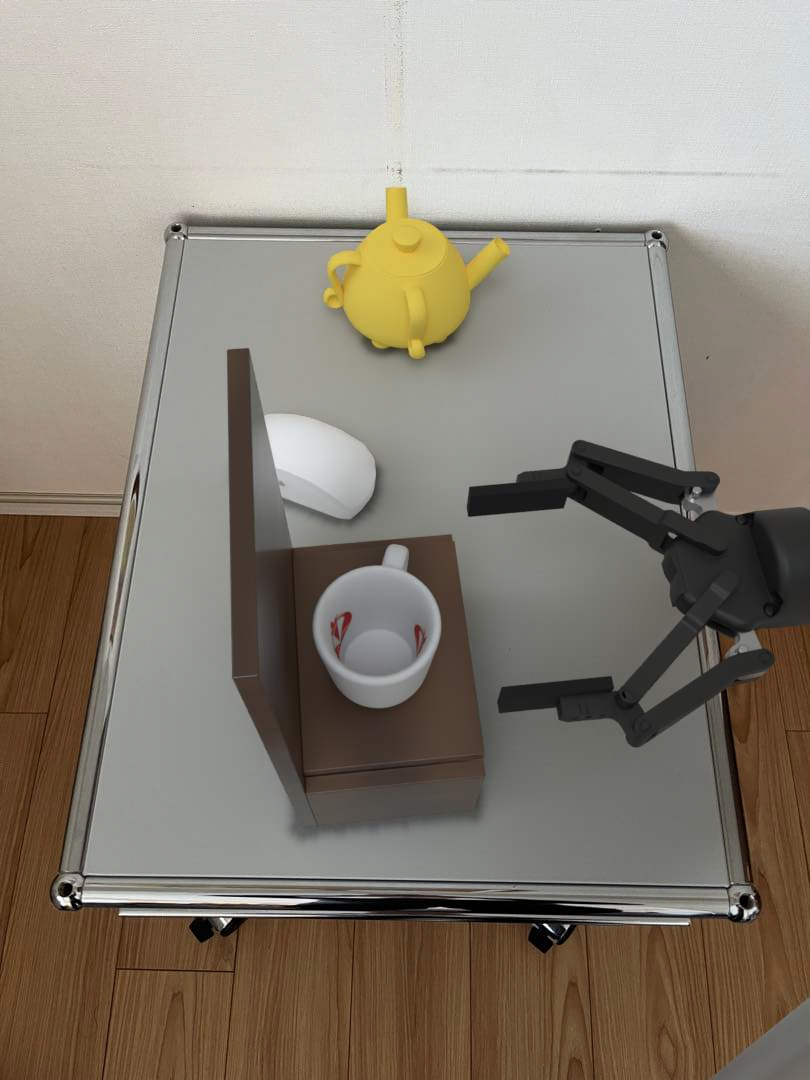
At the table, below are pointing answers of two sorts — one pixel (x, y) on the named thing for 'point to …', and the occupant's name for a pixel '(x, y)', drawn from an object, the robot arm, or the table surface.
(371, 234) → the teapot
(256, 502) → the wooden chair
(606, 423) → the table surface
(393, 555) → the cup
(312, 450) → the computer mouse
